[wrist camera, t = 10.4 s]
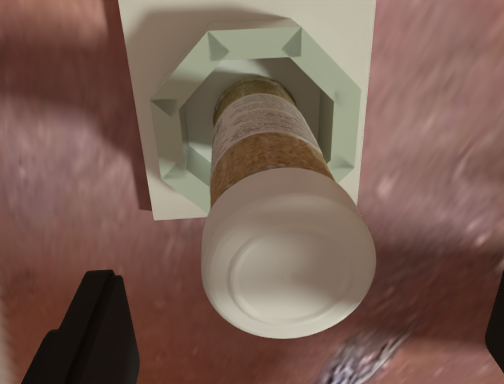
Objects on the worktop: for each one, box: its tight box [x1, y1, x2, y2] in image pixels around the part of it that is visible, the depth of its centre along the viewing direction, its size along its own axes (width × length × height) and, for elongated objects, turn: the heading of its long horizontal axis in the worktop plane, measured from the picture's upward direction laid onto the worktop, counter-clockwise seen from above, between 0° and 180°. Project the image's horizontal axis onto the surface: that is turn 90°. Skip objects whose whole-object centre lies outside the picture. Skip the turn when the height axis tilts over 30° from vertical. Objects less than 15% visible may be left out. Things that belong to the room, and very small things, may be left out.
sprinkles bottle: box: [201, 76, 376, 339], centre depth 17 cm, size 5×5×14 cm
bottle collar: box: [118, 0, 376, 220], centre depth 22 cm, size 12×12×4 cm
